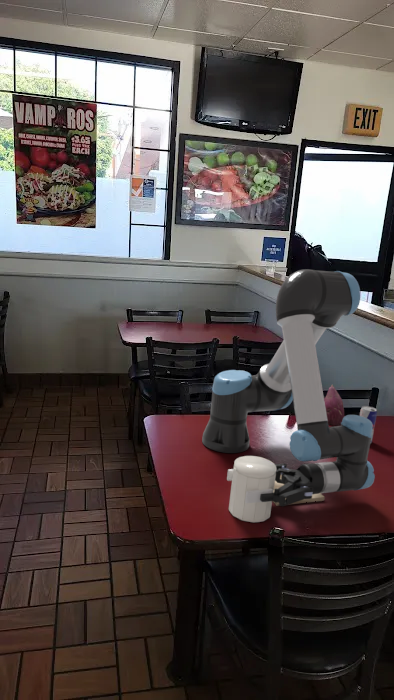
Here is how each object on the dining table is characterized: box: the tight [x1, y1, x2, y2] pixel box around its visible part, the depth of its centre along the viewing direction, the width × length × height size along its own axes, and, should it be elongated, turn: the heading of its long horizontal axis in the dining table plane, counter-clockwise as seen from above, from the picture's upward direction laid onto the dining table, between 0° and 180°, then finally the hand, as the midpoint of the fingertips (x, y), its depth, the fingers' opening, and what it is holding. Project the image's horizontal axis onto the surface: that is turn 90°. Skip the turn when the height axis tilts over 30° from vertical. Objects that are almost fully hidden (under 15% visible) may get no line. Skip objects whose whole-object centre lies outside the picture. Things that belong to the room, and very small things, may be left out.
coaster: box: [273, 475, 326, 507], centre depth 134 cm, size 14×14×1 cm
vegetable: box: [324, 384, 345, 426], centre depth 191 cm, size 10×10×15 cm
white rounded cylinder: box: [228, 455, 276, 523], centre depth 120 cm, size 10×10×12 cm
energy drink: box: [359, 405, 378, 444], centre depth 172 cm, size 5×5×12 cm
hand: (236, 485), depth 119 cm, fingers closed on white rounded cylinder, 10 cm apart
